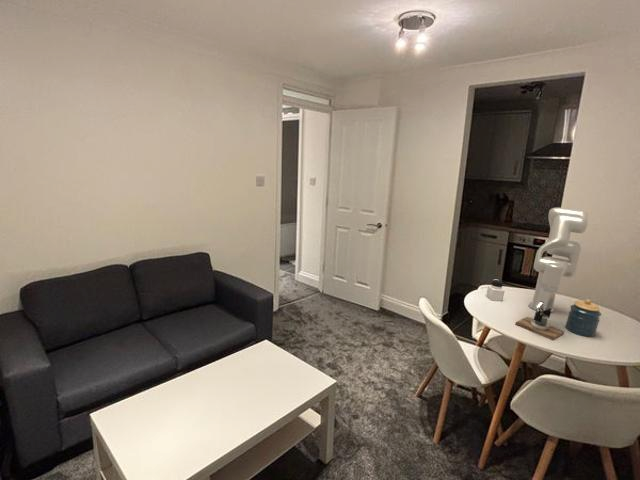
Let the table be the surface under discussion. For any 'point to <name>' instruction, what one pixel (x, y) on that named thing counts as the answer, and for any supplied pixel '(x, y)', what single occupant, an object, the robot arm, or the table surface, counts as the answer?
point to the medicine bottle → (495, 290)
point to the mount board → (541, 332)
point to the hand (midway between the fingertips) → (541, 318)
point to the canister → (583, 318)
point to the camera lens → (543, 321)
